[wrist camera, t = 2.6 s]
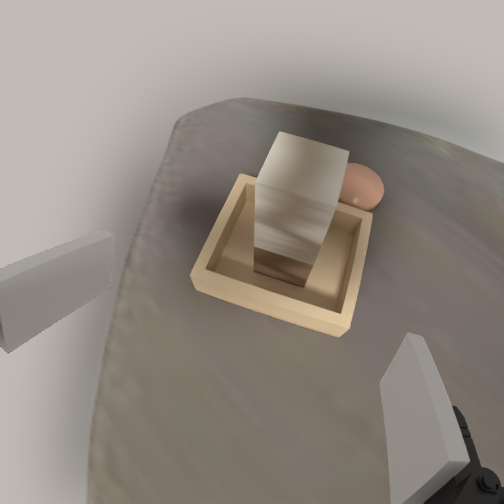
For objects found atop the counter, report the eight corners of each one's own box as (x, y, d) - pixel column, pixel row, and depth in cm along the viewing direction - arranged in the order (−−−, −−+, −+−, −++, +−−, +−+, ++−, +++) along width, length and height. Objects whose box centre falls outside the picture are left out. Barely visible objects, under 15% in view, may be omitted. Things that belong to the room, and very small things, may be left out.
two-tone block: (317, 244, 31) (349, 151, 20) (303, 288, 29) (336, 206, 18) (270, 229, 32) (279, 131, 21) (253, 271, 30) (255, 181, 18)
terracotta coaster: (363, 165, 37) (366, 158, 36) (390, 204, 34) (393, 198, 33) (320, 175, 36) (322, 169, 35) (346, 217, 33) (349, 211, 32)
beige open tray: (362, 231, 33) (373, 213, 30) (338, 337, 27) (349, 328, 24) (241, 194, 35) (240, 173, 32) (196, 289, 30) (189, 275, 26)
